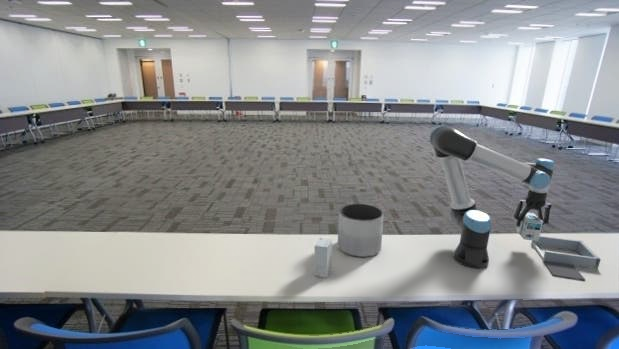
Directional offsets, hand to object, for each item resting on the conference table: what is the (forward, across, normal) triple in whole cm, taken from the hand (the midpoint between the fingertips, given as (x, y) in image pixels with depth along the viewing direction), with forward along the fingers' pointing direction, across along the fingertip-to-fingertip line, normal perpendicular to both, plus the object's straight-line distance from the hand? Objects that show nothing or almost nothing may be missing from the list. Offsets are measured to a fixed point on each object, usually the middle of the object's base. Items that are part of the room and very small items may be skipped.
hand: (527, 233), depth 164 cm
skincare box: (+12, -92, -51) cm, 106 cm away
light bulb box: (+1, 0, 0) cm, 1 cm away
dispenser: (+9, +17, 0) cm, 19 cm away
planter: (+12, -80, -24) cm, 84 cm away
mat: (+9, +12, -16) cm, 22 cm away
